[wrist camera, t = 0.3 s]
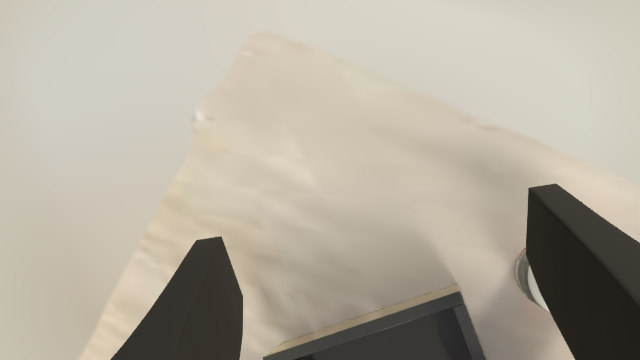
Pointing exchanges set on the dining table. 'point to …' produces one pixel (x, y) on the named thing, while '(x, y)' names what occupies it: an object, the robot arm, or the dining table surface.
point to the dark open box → (395, 333)
